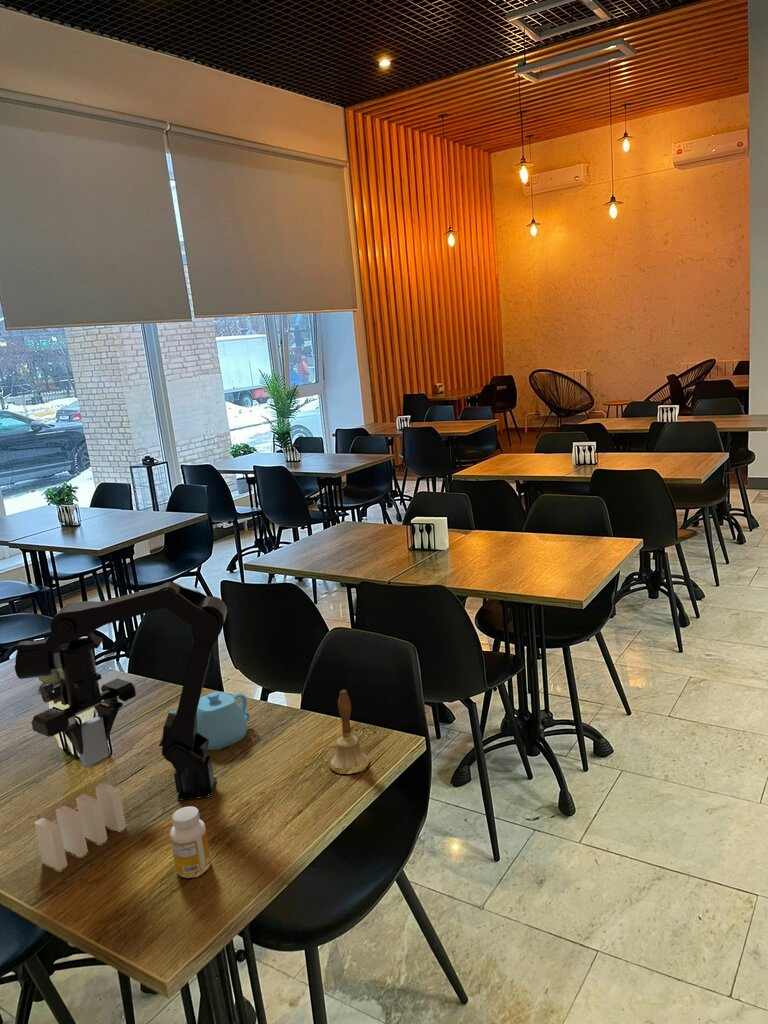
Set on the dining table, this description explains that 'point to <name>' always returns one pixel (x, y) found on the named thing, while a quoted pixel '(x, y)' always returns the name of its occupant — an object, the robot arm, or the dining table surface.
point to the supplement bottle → (189, 841)
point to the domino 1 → (50, 843)
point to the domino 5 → (111, 806)
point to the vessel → (52, 677)
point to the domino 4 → (92, 818)
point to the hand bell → (347, 739)
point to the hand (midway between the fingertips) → (93, 747)
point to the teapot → (221, 719)
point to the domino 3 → (93, 742)
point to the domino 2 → (72, 830)
